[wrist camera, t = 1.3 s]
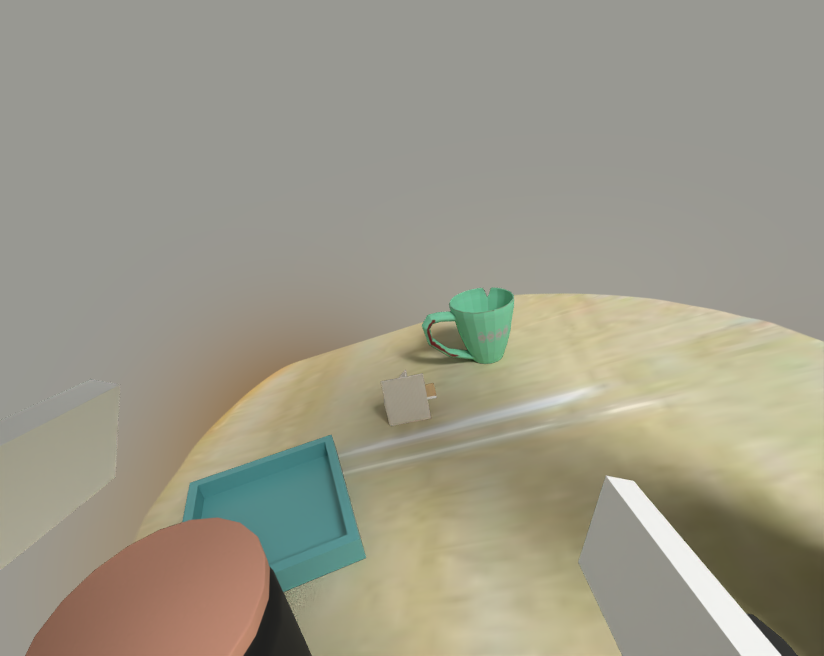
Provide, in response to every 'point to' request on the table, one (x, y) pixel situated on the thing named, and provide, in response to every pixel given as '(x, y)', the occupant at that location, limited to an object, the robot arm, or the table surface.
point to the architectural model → (407, 398)
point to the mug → (477, 324)
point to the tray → (287, 510)
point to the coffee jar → (178, 600)
